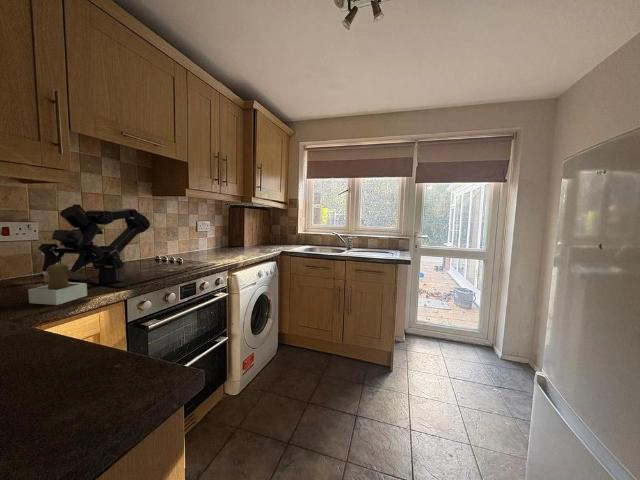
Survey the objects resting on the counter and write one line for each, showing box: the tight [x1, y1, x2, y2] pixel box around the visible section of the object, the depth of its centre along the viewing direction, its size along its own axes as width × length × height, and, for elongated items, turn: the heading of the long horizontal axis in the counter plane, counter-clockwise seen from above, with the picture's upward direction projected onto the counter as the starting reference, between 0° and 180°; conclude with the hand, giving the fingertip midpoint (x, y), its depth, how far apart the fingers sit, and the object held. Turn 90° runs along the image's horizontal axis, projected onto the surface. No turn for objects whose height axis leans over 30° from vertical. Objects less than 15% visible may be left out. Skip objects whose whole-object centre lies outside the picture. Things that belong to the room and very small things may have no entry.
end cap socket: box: [27, 281, 88, 306], centre depth 90 cm, size 10×10×4 cm
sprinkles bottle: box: [41, 252, 59, 283], centre depth 111 cm, size 5×5×14 cm
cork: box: [47, 263, 70, 290], centre depth 89 cm, size 6×6×11 cm
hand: (57, 271), depth 89 cm, fingers open, 9 cm apart
